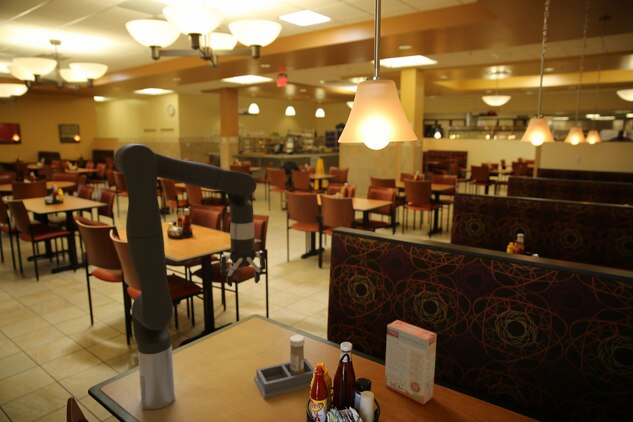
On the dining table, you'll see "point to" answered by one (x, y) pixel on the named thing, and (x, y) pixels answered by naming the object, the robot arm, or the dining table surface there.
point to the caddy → (282, 379)
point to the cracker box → (410, 361)
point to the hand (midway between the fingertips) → (243, 284)
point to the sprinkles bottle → (297, 355)
